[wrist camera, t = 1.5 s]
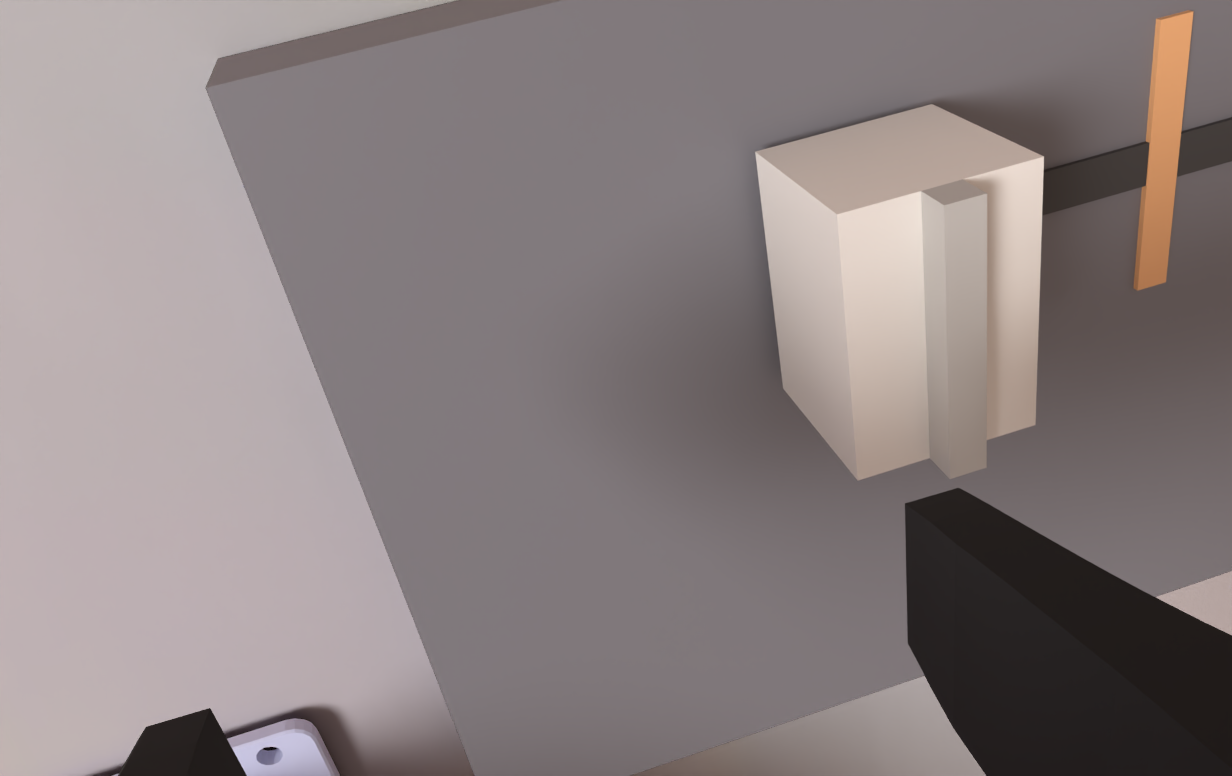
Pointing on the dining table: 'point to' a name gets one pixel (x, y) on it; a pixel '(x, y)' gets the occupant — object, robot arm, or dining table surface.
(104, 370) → the dining table surface
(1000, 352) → the fader knob
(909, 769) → the dining table surface
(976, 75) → the console
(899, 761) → the dining table surface
